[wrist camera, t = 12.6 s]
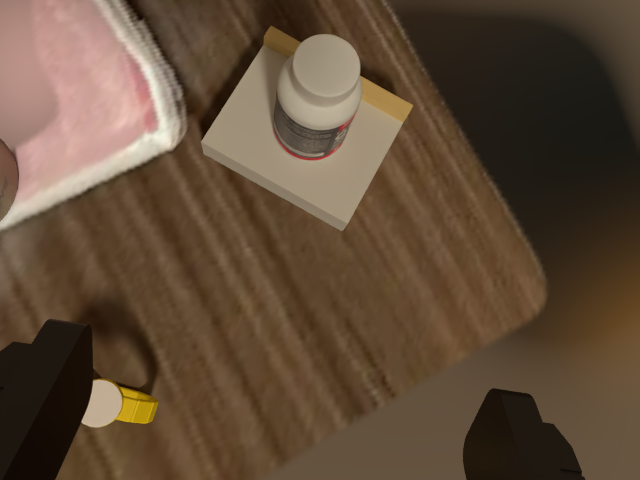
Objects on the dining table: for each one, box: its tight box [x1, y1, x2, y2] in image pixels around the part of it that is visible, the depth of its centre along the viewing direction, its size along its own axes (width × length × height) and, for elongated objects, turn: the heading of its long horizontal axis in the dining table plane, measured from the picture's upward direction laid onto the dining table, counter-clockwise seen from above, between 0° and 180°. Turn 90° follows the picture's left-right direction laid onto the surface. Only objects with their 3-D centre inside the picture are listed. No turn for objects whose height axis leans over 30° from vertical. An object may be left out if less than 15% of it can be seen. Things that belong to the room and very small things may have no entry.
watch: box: [81, 378, 159, 427], centre depth 37 cm, size 6×3×6 cm, turn 74°
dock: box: [201, 26, 413, 231], centre depth 44 cm, size 12×10×4 cm
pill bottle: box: [273, 34, 362, 163], centre depth 38 cm, size 5×5×10 cm
